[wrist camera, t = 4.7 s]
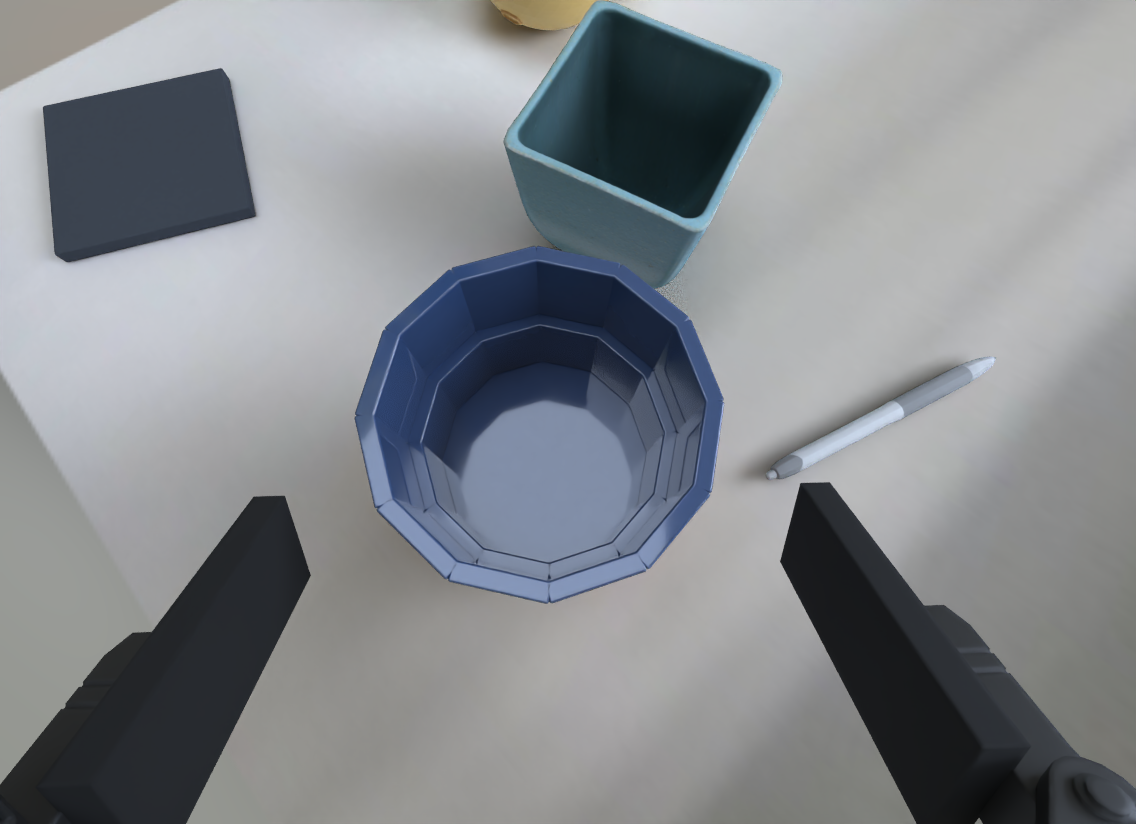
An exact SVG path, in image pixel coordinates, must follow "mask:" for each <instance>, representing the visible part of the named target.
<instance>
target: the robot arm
mask: <svg viewBox="0 0 1136 824" xmlns="http://www.w3.org/2000/svg"><path fill="white" fill-rule="evenodd" d="M780 562H781V564H782V566H783V568H784V570H785V572H786V574H787V576H788V578H789V579H790V581H791V583H792V585H793V587H794V589H795V591H796V593H797V595H798V597H799V599H800V601H801V602H802V604H803V606H804V608H805V610H806V612H807V614H808V616H809V618H810V620H811V622H812V624H813V625H814V627H815V629H816V631H817V633H818V635H819V637H820V639H821V641H822V643H823V645H824V647H825V649H826V650H827V652H828V654H829V656H830V658H831V660H832V662H833V664H834V666H835V668H836V670H837V672H838V673H839V675H840V677H841V679H842V681H843V683H844V685H845V687H846V689H847V691H848V693H849V695H850V696H851V698H852V700H853V702H854V704H855V706H856V708H857V710H858V712H859V714H860V716H861V718H862V720H863V721H864V723H865V725H866V727H867V729H868V731H869V733H870V735H871V737H872V739H873V741H874V743H875V744H876V746H877V748H878V750H879V752H880V754H881V756H882V758H883V760H884V762H885V764H886V766H887V767H888V769H889V771H890V773H891V775H892V777H893V779H894V781H895V783H896V785H897V787H898V789H899V790H900V792H901V794H902V796H903V798H904V800H905V802H906V804H907V806H908V808H909V810H910V812H911V814H912V815H913V817H914V819H915V821H916V823H917V824H975V822H976V821H977V819H978V818H980V820H981V821H982V823H983V824H1136V789H1135V788H1134V787H1133V786H1132V785H1131V784H1129V783H1128V782H1127V781H1126V780H1125V779H1124V778H1123V777H1121V776H1119V775H1118V774H1116V773H1114V772H1113V771H1111V770H1110V769H1108V768H1106V767H1105V766H1103V765H1101V764H1099V763H1096V762H1093V761H1091V760H1088V759H1085V758H1083V757H1080V756H1079V755H1078V754H1077V753H1076V752H1075V751H1074V750H1073V748H1072V747H1071V746H1070V745H1069V744H1068V743H1067V742H1066V740H1065V739H1064V738H1063V737H1062V736H1061V734H1060V733H1059V732H1058V731H1057V729H1056V728H1055V727H1054V726H1053V725H1052V723H1051V722H1050V721H1049V720H1048V719H1047V717H1046V716H1045V715H1044V714H1043V713H1042V711H1041V710H1040V709H1039V708H1038V706H1037V705H1036V704H1035V703H1034V702H1033V700H1032V699H1031V698H1030V697H1029V696H1028V694H1027V693H1026V692H1025V691H1024V690H1023V688H1022V687H1021V686H1020V685H1019V683H1018V682H1017V681H1016V680H1015V679H1014V677H1013V676H1012V675H1011V674H1010V673H1007V672H1006V668H1005V667H1004V665H1003V664H1002V663H1001V662H1000V660H999V659H998V658H997V657H996V656H995V654H994V653H991V652H990V648H989V647H988V646H987V645H986V644H985V642H984V641H983V640H982V639H981V637H980V636H979V635H978V634H977V633H976V631H975V630H974V629H973V628H972V627H971V625H970V624H968V623H967V622H966V621H964V620H963V619H962V618H960V617H959V616H958V615H956V614H955V613H954V612H952V611H951V610H950V609H948V608H947V607H946V606H945V605H933V606H924V605H923V604H922V602H921V601H920V600H919V599H918V597H917V596H916V595H915V593H914V592H913V591H912V589H911V588H910V587H909V585H908V584H907V583H906V582H905V580H904V579H903V578H902V576H901V575H900V574H899V572H898V571H897V570H896V568H895V567H894V566H893V565H892V563H891V562H890V561H889V559H888V558H887V557H886V555H885V554H884V553H883V551H882V550H881V549H880V548H879V546H878V545H877V544H876V542H875V541H874V540H873V538H872V537H871V536H870V534H869V533H868V532H867V531H866V529H865V528H864V527H863V525H862V524H861V523H860V521H859V520H858V519H857V517H856V516H855V515H854V514H853V512H852V511H851V510H850V508H849V507H848V506H847V504H846V503H845V502H844V500H843V499H842V498H841V497H840V495H839V494H838V493H837V491H836V490H835V489H834V487H833V486H832V485H831V483H830V482H827V483H800V487H799V491H798V495H797V499H796V503H795V507H794V510H793V514H792V518H791V522H790V526H789V530H788V534H787V537H786V541H785V545H784V549H783V553H782V557H781V561H780ZM310 576H311V575H310V572H309V569H308V566H307V563H306V560H305V556H304V553H303V550H302V547H301V544H300V541H299V538H298V535H297V532H296V529H295V526H294V523H293V520H292V517H291V513H290V510H289V507H288V504H287V501H286V498H285V496H260V497H253V498H252V500H251V501H250V502H249V504H248V505H247V506H246V508H245V509H244V510H243V512H242V513H241V514H240V516H239V517H238V518H237V520H236V521H235V522H234V524H233V525H232V526H231V528H230V529H229V530H228V532H227V533H226V534H225V535H224V537H223V538H222V539H221V541H220V542H219V543H218V545H217V546H216V547H215V549H214V550H213V551H212V553H211V554H210V555H209V557H208V558H207V559H206V561H205V562H204V563H203V565H202V566H201V567H200V569H199V570H198V571H197V573H196V574H195V575H194V577H193V578H192V579H191V581H190V582H189V583H188V585H187V586H186V587H185V589H184V590H183V591H182V593H181V594H180V595H179V597H178V598H177V599H176V601H175V602H174V603H173V605H172V606H171V607H170V609H169V610H168V611H167V613H166V614H165V615H164V617H163V618H162V619H161V621H160V622H159V623H158V625H157V626H156V627H155V629H154V630H153V631H152V632H143V633H142V632H141V633H132V634H131V635H129V636H128V637H127V638H126V639H124V640H123V641H122V642H121V643H119V644H118V645H117V646H116V647H114V648H113V649H112V650H111V651H109V652H108V653H107V654H106V655H104V657H103V658H102V659H101V660H100V662H99V663H98V664H97V665H96V667H95V668H94V669H93V671H92V672H91V673H90V674H89V675H88V676H87V678H86V679H85V680H84V681H83V686H82V687H79V688H78V689H77V690H76V691H75V693H74V694H73V695H72V696H71V698H70V699H69V700H68V701H67V703H66V707H65V708H64V709H61V710H60V711H59V712H58V714H57V715H56V716H55V717H54V719H53V720H52V721H51V722H50V724H49V725H48V726H47V727H46V728H45V730H44V731H43V732H42V733H41V735H40V736H39V737H38V738H37V740H36V741H35V742H34V743H33V745H32V746H31V747H30V748H29V750H28V751H27V752H26V753H25V754H24V756H23V757H22V758H21V760H20V761H19V762H18V763H17V764H16V766H15V767H14V768H13V769H12V771H11V772H10V773H9V774H8V776H7V777H6V778H5V779H4V781H3V782H2V783H1V784H0V824H186V823H187V821H188V819H189V817H190V815H191V813H192V811H193V809H194V807H195V805H196V803H197V801H198V799H199V797H200V795H201V793H202V790H203V789H204V787H205V785H206V783H207V781H208V779H209V777H210V775H211V773H212V771H213V769H214V767H215V765H216V763H217V761H218V759H219V757H220V755H221V753H222V751H223V749H224V747H225V745H226V743H227V741H228V739H229V737H230V735H231V733H232V731H233V729H234V727H235V725H236V723H237V721H238V719H239V717H240V715H241V713H242V711H243V709H244V707H245V705H246V703H247V701H248V699H249V697H250V695H251V693H252V691H253V689H254V687H255V685H256V683H257V681H258V679H259V677H260V675H261V673H262V671H263V669H264V667H265V665H266V663H267V661H268V659H269V657H270V655H271V653H272V651H273V649H274V647H275V646H276V644H277V642H278V640H279V638H280V636H281V634H282V632H283V630H284V628H285V626H286V624H287V622H288V620H289V618H290V616H291V614H292V612H293V610H294V608H295V606H296V604H297V602H298V600H299V598H300V596H301V594H302V592H303V590H304V588H305V586H306V584H307V582H308V580H309V578H310Z"/></svg>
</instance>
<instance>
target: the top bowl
mask: <svg viewBox="0 0 1136 824" xmlns="http://www.w3.org/2000/svg"><path fill="white" fill-rule="evenodd" d="M385 329H386V330H383V332H382V335H381V338H380V341H379V344H378V347H377V350H376V353H375V356H374V359H373V362H372V365H371V368H370V371H369V373H368V376H367V379H366V382H365V385H364V388H363V391H362V394H361V397H360V400H359V403H358V406H357V409H356V412H355V415H356V416H355V422H356V427H357V431H358V436H359V440H360V445H361V449H362V454H363V458H364V463H365V467H366V471H367V476H368V480H369V485H370V489H371V494H372V498H373V503H374V507H375V508H377V512H378V513H379V514H380V515H381V516H382V517H383V518H384V519H385V520H386V521H387V522H388V523H389V524H390V525H391V526H392V527H393V528H394V529H395V530H396V531H397V532H398V533H399V534H400V535H401V536H402V537H403V538H404V539H405V540H406V541H407V542H408V543H409V544H410V545H411V546H412V547H413V548H414V549H415V550H416V551H417V552H418V553H419V554H420V555H421V556H422V557H423V558H424V559H425V560H426V561H427V562H428V563H429V564H430V565H431V566H432V567H433V568H434V569H435V570H436V571H437V572H438V573H439V574H440V575H441V576H442V577H443V578H444V579H448V581H449V582H453V583H457V584H461V585H466V586H470V587H474V588H479V589H483V590H488V591H492V592H496V593H501V594H505V595H510V596H514V597H518V598H523V599H527V600H532V601H536V602H540V603H545V604H548V602H550V603H555V602H558V601H561V600H564V599H567V598H570V597H573V596H575V595H578V594H581V593H584V592H587V591H590V590H593V589H596V588H599V587H602V586H605V585H608V584H611V583H614V582H617V581H620V580H622V579H625V578H628V577H631V576H634V575H637V574H640V573H643V572H645V571H646V569H649V568H651V567H652V565H653V564H654V563H655V562H656V561H657V559H658V558H659V557H660V556H661V554H662V553H663V552H664V551H665V550H666V548H667V547H668V546H669V545H670V544H671V542H672V541H673V540H674V539H675V538H676V536H677V535H678V534H679V533H680V532H681V530H682V529H683V528H684V527H685V525H686V524H687V523H688V522H689V521H690V519H691V518H692V517H693V516H694V515H695V513H696V512H697V511H698V510H699V509H700V507H701V506H702V505H703V504H704V503H705V501H706V500H707V499H708V498H709V496H710V494H709V493H711V492H712V487H713V480H714V473H715V466H716V459H717V452H718V445H719V438H720V431H721V424H722V417H723V410H724V402H722V401H723V396H722V394H721V391H720V389H719V386H718V384H717V382H716V379H715V377H714V374H713V372H712V370H711V367H710V365H709V362H708V360H707V357H706V355H705V353H704V350H703V348H702V345H701V343H700V340H699V338H698V336H697V333H696V331H695V328H694V326H693V324H692V321H691V320H689V317H688V316H687V315H686V314H685V313H683V312H682V311H681V310H680V309H678V308H677V307H676V306H675V305H673V304H672V303H671V302H670V301H668V300H667V299H666V298H665V297H663V296H662V295H661V294H660V293H658V292H657V291H656V290H655V289H653V288H652V287H651V286H650V285H648V284H647V283H646V282H645V281H643V280H642V279H641V278H640V277H638V276H637V275H636V274H635V273H633V272H632V271H631V270H630V269H628V268H627V267H626V266H625V265H623V264H622V265H621V264H620V263H618V262H614V261H609V260H604V259H599V258H594V257H589V256H584V255H580V254H575V253H570V252H565V251H560V250H555V249H550V248H546V247H541V246H537V247H535V246H532V247H528V248H524V249H521V250H517V251H513V252H509V253H506V254H502V255H498V256H494V257H491V258H487V259H483V260H479V261H475V262H472V263H468V264H464V265H460V266H457V267H453V268H452V270H450V269H449V270H448V271H447V272H446V273H444V274H443V275H442V276H441V277H440V278H439V279H438V280H437V281H436V282H434V283H433V284H432V285H431V286H430V287H429V288H428V289H427V290H426V291H425V292H423V293H422V294H421V295H420V296H419V297H418V298H417V299H416V300H415V301H413V302H412V303H411V304H410V305H409V306H408V307H407V308H406V309H405V310H404V311H402V312H401V313H400V314H399V315H398V316H397V317H396V318H395V319H394V320H392V321H391V322H390V323H389V324H388V325H387V326H386V327H385Z"/></svg>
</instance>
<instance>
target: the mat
mask: <svg viewBox="0 0 1136 824" xmlns="http://www.w3.org/2000/svg"><path fill="white" fill-rule="evenodd" d="M43 114H44V126H45V139H46V151H47V164H48V176H49V188H50V201H51V213H52V226H53V238H54V251H55V255H56V256H58V257H59V258H61V259H63V260H64V261H66V262H70V261H74V260H78V259H83V258H87V257H91V256H95V255H99V254H103V253H107V252H111V251H115V250H119V249H123V248H127V247H131V246H136V245H140V244H144V243H148V242H152V241H156V240H160V239H164V238H168V237H172V236H176V235H180V234H185V233H189V232H193V231H197V230H201V229H205V228H209V227H213V226H217V225H221V224H225V223H229V222H234V221H238V220H242V219H246V218H250V217H254V216H255V210H254V205H253V200H252V195H251V189H250V184H249V179H248V174H247V169H246V164H245V159H244V153H243V148H242V143H241V138H240V133H239V128H238V123H237V117H236V112H235V107H234V102H233V97H232V92H231V87H230V81H229V78H228V77H227V75H226V74H225V72H224V71H223V69H222V68H220V69H215V70H210V71H206V72H201V73H196V74H192V75H187V76H182V77H178V78H173V79H168V80H164V81H159V82H154V83H150V84H145V85H140V86H136V87H131V88H126V89H122V90H117V91H112V92H108V93H103V94H98V95H94V96H89V97H84V98H80V99H75V100H70V101H66V102H61V103H56V104H52V105H47V106H44V107H43Z"/></svg>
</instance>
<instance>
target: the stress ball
mask: <svg viewBox="0 0 1136 824" xmlns="http://www.w3.org/2000/svg"><path fill="white" fill-rule="evenodd" d="M490 1H491V2H492V3H493V4H494V5H495V6H496V7H497V8H498V9H499V10H500V11H501V13H502V15H503V16H504V17H505V18H507V19H508V20H510V21H511V22H513V23H514V24H517V25H521V24H522V25H525V26H527V27H530V28H534V29H539V30H560V29H566V28H569V27H572V26H574V25H577V24H579V23H580V22H581V20H582V19H583V17H584V15H585V14H586V13H587V11H588V10H589V8H590V7H591V5H592V4H593V3H594V2H596V1H598V0H490ZM604 1H608V0H604Z"/></svg>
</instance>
